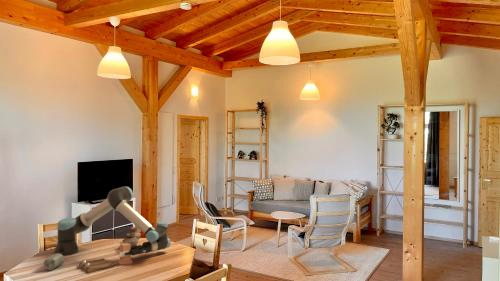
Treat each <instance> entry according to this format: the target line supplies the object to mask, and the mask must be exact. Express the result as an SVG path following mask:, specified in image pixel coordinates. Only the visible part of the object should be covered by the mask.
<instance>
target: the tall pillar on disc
mask: <svg viewBox="0 0 500 281" xmlns="http://www.w3.org/2000/svg"><path fill="white" fill-rule="evenodd" d="M119 250H120V252H125V251H129V252H130V250H131V244H130V243H123V242H122V243H120V244H119ZM132 263H133V259H132V258H131V255H127V256H122V257H119V259H118V260H117V264H118V265H119V266H128V265H131V264H132Z"/></svg>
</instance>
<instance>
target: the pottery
mask: <svg viewBox="0 0 500 281" xmlns="http://www.w3.org/2000/svg"><path fill="white" fill-rule="evenodd" d="M130 229H131V230H130V233H129V232H128V233H126V237H125V238H123V239H122V243H130V244H131V246H133V245H137V246H138V243H139V240H140V238H141V235H142V233H140V232H139V231H138V230H139V228H137V227H136V226H132V227H131V228H130Z"/></svg>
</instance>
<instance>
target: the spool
mask: <svg viewBox="0 0 500 281" xmlns="http://www.w3.org/2000/svg"><path fill="white" fill-rule="evenodd" d="M64 262H65V257H64V255H62V254H60V253H57V254H55V253H54V254H51V255H50V256H48V257H47V258H46V259H45V260H44V262H43V266H44V268H45V269H46V270H48V271H53V270H55V269H56V268H57V267H59V266H61V265H63V264H64Z"/></svg>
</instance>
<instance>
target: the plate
mask: <svg viewBox="0 0 500 281" xmlns="http://www.w3.org/2000/svg"><path fill="white" fill-rule="evenodd" d="M86 263H90V268H89V269H86V266H82V262H81V263H78V268H80V269H82V270H83V271H84V272H85V273H87V274H91V273H96V272H99V271H100V272H101V271H105V270H108V269H112V268H114V267H115V264H113V263H112V262H110V261H108V260H107V259H105V258H99V259H95V260H90V261H86Z"/></svg>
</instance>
